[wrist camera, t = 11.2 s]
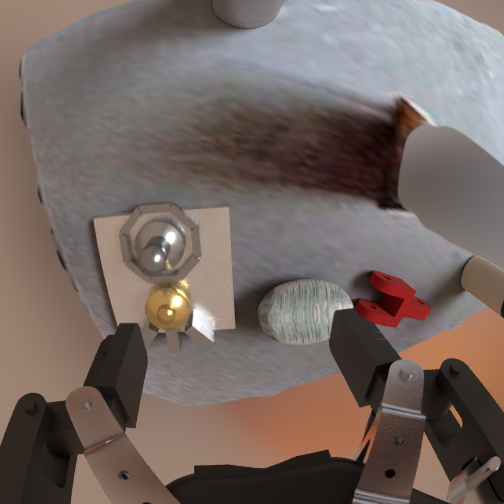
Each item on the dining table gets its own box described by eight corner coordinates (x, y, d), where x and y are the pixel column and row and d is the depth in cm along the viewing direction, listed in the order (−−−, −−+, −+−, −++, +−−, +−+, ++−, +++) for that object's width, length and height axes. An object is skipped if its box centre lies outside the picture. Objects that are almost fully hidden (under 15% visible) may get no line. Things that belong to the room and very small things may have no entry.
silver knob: (134, 220, 34) (117, 237, 28) (183, 216, 35) (176, 232, 28) (141, 267, 36) (128, 291, 30) (187, 264, 37) (183, 289, 31)
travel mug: (456, 291, 49) (511, 334, 33) (464, 257, 46) (525, 295, 30) (476, 285, 50) (528, 322, 33) (484, 253, 47) (541, 286, 31)
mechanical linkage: (349, 305, 46) (362, 321, 41) (368, 267, 44) (383, 281, 39) (409, 318, 49) (422, 332, 45) (426, 287, 47) (441, 299, 43)
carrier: (97, 206, 34) (79, 217, 29) (227, 194, 37) (230, 203, 31) (125, 333, 42) (116, 358, 36) (234, 328, 44) (238, 354, 38)
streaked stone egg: (250, 346, 41) (281, 360, 32) (245, 283, 43) (276, 281, 33) (324, 332, 47) (364, 338, 38) (320, 277, 48) (360, 273, 39)
